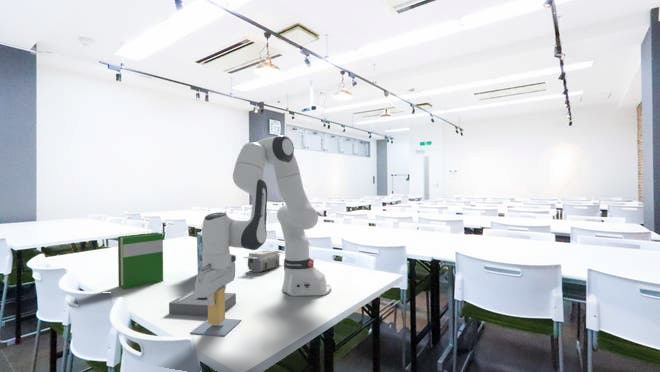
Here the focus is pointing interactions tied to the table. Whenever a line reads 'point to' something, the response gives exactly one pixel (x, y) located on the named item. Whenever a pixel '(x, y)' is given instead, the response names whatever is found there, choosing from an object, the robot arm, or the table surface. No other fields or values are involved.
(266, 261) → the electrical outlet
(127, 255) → the hardback book
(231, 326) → the mat
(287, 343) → the table surface
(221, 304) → the plug
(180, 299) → the grey block with hole
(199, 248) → the gum box
